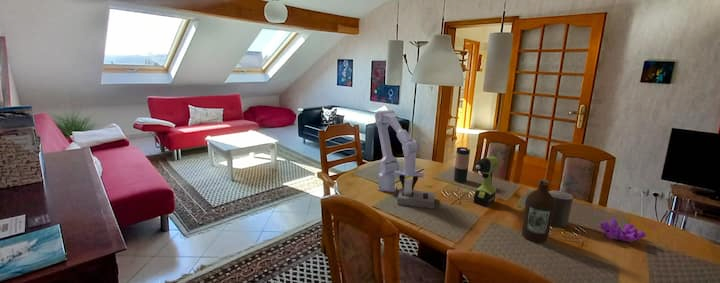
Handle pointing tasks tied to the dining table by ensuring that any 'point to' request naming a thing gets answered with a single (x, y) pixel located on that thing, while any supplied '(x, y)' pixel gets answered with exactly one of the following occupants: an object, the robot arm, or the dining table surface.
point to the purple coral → (621, 231)
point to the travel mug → (461, 164)
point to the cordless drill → (486, 181)
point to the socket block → (417, 199)
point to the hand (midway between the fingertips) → (407, 189)
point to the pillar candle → (561, 208)
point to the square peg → (408, 187)
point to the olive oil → (538, 214)
